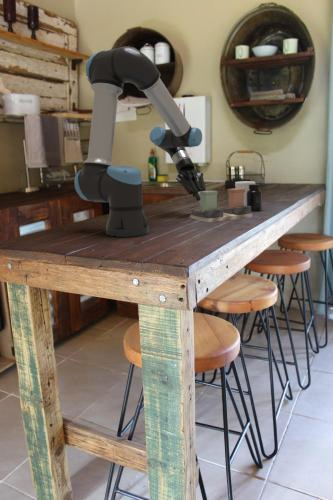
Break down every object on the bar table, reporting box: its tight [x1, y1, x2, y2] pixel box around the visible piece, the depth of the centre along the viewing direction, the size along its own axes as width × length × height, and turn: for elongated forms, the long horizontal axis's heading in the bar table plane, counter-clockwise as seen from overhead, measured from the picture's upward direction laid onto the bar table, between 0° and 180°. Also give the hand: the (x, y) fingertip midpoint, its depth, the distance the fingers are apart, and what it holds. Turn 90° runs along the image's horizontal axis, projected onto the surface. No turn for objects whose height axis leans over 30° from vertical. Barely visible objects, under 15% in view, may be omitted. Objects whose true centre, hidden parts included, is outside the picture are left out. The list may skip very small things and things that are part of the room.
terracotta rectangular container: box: [227, 188, 245, 209], centre depth 182 cm, size 6×5×10 cm
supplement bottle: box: [247, 183, 263, 212], centre depth 198 cm, size 7×7×12 cm
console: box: [189, 206, 254, 223], centre depth 181 cm, size 22×14×4 cm, turn 118°
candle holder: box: [234, 180, 257, 206], centre depth 211 cm, size 10×10×12 cm
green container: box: [200, 190, 219, 212], centre depth 176 cm, size 6×5×10 cm
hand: (204, 205), depth 179 cm, fingers closed
